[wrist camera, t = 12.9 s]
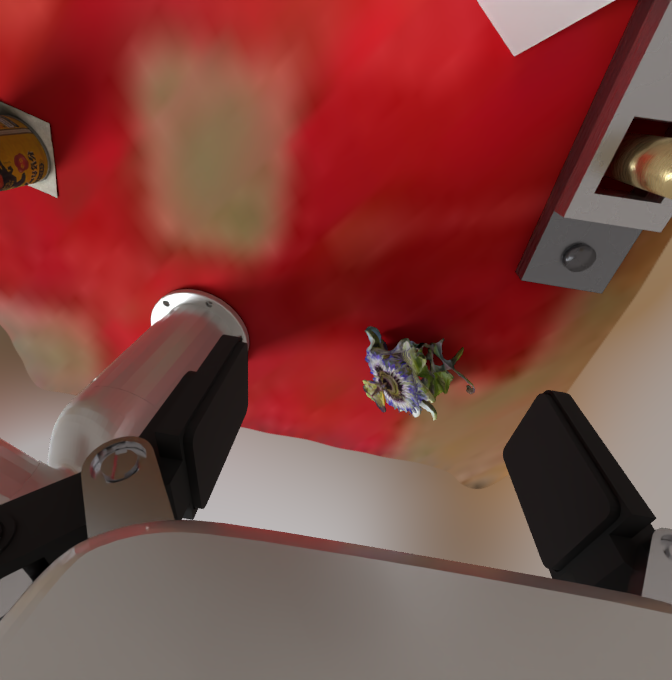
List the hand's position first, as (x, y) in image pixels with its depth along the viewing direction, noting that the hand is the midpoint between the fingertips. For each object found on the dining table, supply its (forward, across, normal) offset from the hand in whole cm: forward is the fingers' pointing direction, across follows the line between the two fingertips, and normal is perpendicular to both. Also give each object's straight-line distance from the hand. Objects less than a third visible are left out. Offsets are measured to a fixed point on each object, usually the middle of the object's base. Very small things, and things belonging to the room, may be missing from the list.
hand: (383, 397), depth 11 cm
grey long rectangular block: (+25, -18, -8) cm, 32 cm away
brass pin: (+25, -18, -8) cm, 32 cm away
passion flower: (+27, -7, +15) cm, 32 cm away
